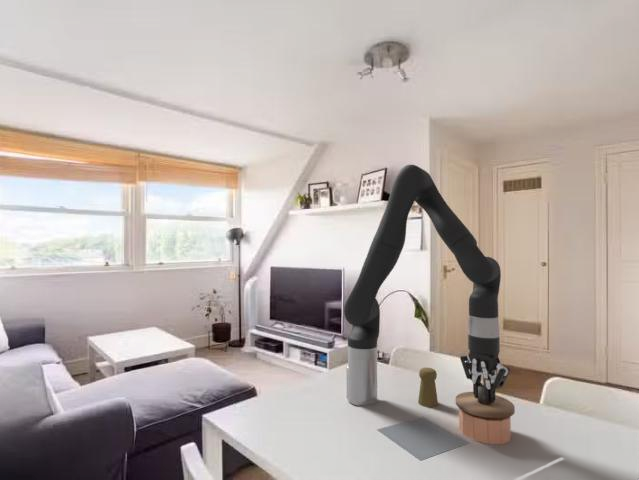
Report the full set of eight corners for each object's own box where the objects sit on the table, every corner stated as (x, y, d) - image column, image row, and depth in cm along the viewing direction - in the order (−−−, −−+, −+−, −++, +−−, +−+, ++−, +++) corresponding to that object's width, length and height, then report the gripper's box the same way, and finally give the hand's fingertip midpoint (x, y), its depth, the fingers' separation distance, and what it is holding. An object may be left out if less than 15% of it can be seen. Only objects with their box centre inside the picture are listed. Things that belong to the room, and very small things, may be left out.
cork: (439, 409, 110) (439, 372, 110) (418, 408, 111) (418, 371, 111) (437, 401, 116) (437, 366, 116) (417, 399, 117) (417, 364, 117)
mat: (376, 431, 97) (376, 429, 97) (422, 418, 104) (422, 416, 104) (420, 462, 83) (420, 460, 83) (469, 444, 90) (469, 442, 90)
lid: (444, 401, 99) (443, 382, 99) (479, 391, 106) (478, 374, 106) (490, 423, 87) (490, 401, 87) (526, 410, 93) (526, 390, 93)
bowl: (449, 428, 98) (449, 405, 98) (480, 418, 104) (480, 397, 104) (489, 450, 88) (489, 424, 88) (520, 438, 93) (520, 414, 94)
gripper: (518, 337, 92) (518, 407, 92) (470, 326, 104) (471, 388, 104) (498, 341, 89) (499, 413, 88) (452, 329, 101) (452, 393, 100)
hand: (484, 399), depth 96 cm, fingers closed on lid, 3 cm apart
